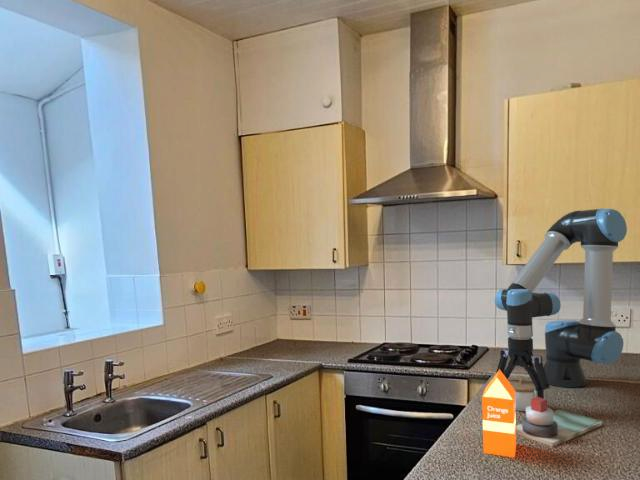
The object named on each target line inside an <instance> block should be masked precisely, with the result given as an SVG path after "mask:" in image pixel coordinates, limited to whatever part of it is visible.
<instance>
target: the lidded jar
mask: <svg viewBox="0 0 640 480" xmlns="http://www.w3.org/2000/svg"><path fill="white" fill-rule="evenodd" d="M508 380H509V379H508ZM509 383H510V384H511V386H512V387H513V388H514V390H515V403H516V407H515V411H518V412H526V407H528V406H531V399H532V398H534V390H535V389H536V387H535V385H534V383H533V382H532V380H526V379H523V378H519V379H510V380H509Z"/></svg>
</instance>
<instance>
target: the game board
mask: <svg viewBox="0 0 640 480" xmlns="http://www.w3.org/2000/svg"><path fill="white" fill-rule="evenodd" d="M521 421H522V422H521V423H520V424H519V423H518V424H517V425H516V435H519V436H522V437H524V438H527V439H530V440H533V441H535V442H538V443H541V444H544V445H545V446H549V447H552V448H554V447H555V446H558V445H560V444H563V443H564V442H568V441H569V440H572V439H574V438H576V437H579V436H580V435H581V436H582V435H584V434H586V433H588V432H590V431H592V430H596V429H597V428H598V427H602V426H603V421H601V420H599V419H596V418H592V417H589V416H586V415H582V414H579V413H576V412H572V411H568V410H564V409H557V410H553V424H551V425H536V424H532V423H530V422H528V421H527V420H526V417H524V418H522V420H521Z"/></svg>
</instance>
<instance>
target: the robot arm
mask: <svg viewBox="0 0 640 480" xmlns="http://www.w3.org/2000/svg"><path fill="white" fill-rule="evenodd" d="M627 230H628V226H627V222H626V220H625V217H624V216H623V214H622V212H620V211H618V210H617V209H614V208H597V209H596V208H594V209H585V210H575V211H570V212H568V213H566V214H564V215H563V216H562V217H560V218H559V219H558V220H556V221H555V222H554V223H553V224H552V225H551V226H550V228H549V229H548V230H547V231H546V232H545V234H544V240H543V241H542V242H541V243H540V245H539V247H537V249H536V251H535V252H534V253H533V254H532V256H531V257H530V258H529V259H528V261H527V262H526V263H525V265H523V268H522V269H520V271H519V273H518V274H517V276H516V277H515V278H514V280H513V281H512V282H511V284H510V285H509V286H508V288H507V289H506V288H504V289H500V290H497V292H496V293H495V295H494V304H495V306H496V307H497V309H499V310H502V311H505V312H506V316H507V335H508V338H507V348H508V349H502V350H500V353H499V354H500V358H499V361H498V365H497V369H496V372H495V375H496V374H497V372H498V371H499V369H500V370H501V372H502V373H503V374H504V376H505V377H506V379H507V380H508V381H509V378H510V376H511V375H512V373H513V371H514V369H515V367H521V368H524V370H525V371H526V372H527V374H528V375H529V378H530V381H532V382H533V383H534V385H535V387H536V389H535V390H534V398H535V397H540V398H543V399H545V398H544V397H545V395H544V390H548V389H550V385H551V386H556V387H562V388H580V387H581V388H582V387H584V386H586V385H587V377H586V374H585V371H584V370H583V367H582V364H581V360H585V361H589V362H594V363H595V364H604V365H609V364H610V365H611V364H613V363H615V362H616V361H617V360H618V359H619V358H620V356H621V355H622V353H623V349H624V338H623V337H622V335H621V333H620V332H618V331H616V327H617V326H616V324H615V323H614V322H613V321H612V293H613V292H612V288H613V262H614V260H613V258H614V257H613V256H614V252H615V251H616V250H617V249H618V248H619V243H620V242H622V241H623V240H624V239H625V237H626V235H627ZM576 243H580V247H581V248H582V250H584V251H585V252H584V275H583V277H584V278H583V279H584V280H583V281H584V282H583V307H582V308H583V309H582V310H583V311H582V318H580V320H572V319H571V320H569V319H568V320H566V319H565V320H554V321H548V322H547V323H546V324H545V328H544V338H545V339H544V340H545V343H544V344H545V362H544V363H543V356H536V355H534V354H533V350H534V340H533V336H534V332H533V330H534V328H533V318H540V317H541V318H542V317H551V316H553V315H556V314H558V313H559V311H561V300H560V298H559V296H557V294H555V293H553V292H543V293H542V292H541V293H540V292H534V291H535V289H536V288H537V287H538V285H539V284H540V283H541V282H542V280H543V279H544V278H545V276H546V275H547V273H548V272H549V270H551V268H552V267H553V266H554V264H555V263H556V261H557V260H558V259H559V257H560V256H561V254H562V253H563V252H564V251H567V250H569V249H570V247H571V246H572V245H573V244H576ZM543 364H544V365H543Z"/></svg>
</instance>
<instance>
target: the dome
mask: <svg viewBox="0 0 640 480" xmlns="http://www.w3.org/2000/svg"><path fill="white" fill-rule="evenodd" d="M553 412H554V410H553V409H552V408H551V407H548V399H547V398H544V399H543V398H540V397H535V398H532V399H531V406H528V407H526V411H525V418H526V420H527V421H528V422H530V423H532V424H536V425H551V424H553Z"/></svg>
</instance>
